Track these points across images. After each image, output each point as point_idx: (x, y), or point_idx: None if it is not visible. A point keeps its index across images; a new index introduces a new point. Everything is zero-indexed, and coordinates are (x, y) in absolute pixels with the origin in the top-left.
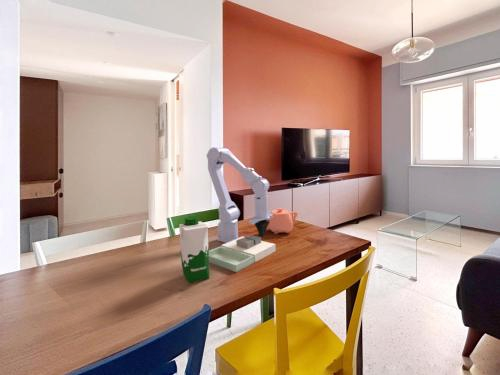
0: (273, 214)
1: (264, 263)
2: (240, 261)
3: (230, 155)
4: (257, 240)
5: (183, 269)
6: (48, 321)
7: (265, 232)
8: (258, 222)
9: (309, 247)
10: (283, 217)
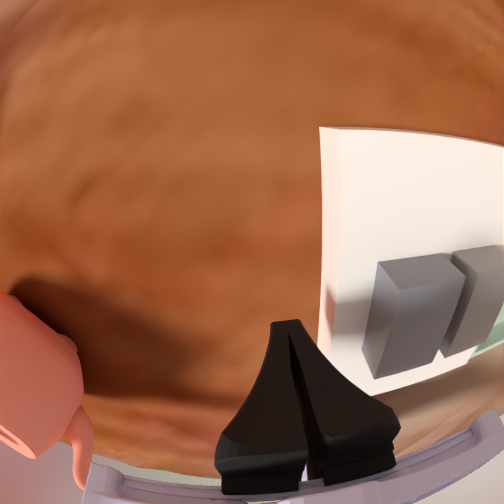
0: (34, 445)
1: (488, 93)
2: None
3: None
4: (437, 272)
5: None
6: None
7: (270, 346)
8: (388, 456)
9: (78, 12)
10: None
